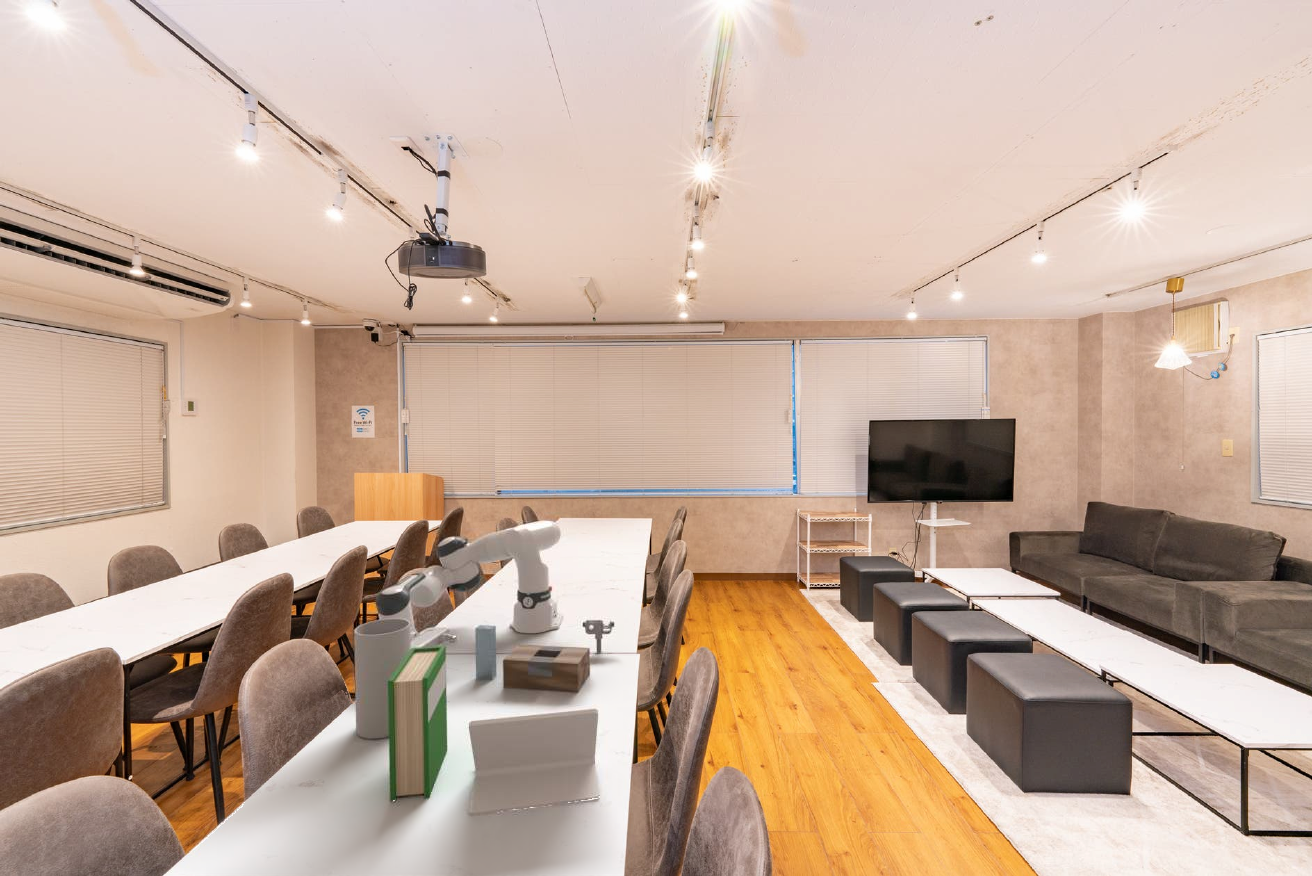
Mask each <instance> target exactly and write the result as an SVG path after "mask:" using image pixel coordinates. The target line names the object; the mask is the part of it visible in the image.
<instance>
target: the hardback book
mask: <svg viewBox="0 0 1312 876" xmlns="http://www.w3.org/2000/svg"><path fill="white" fill-rule="evenodd" d="M446 649H447V646H446V645H439V646H435V647H419V648H411V649H410V651H409V652H408V654H407V655H406V656H405V658H404V659H403V661H402V662H401V663H400V665H399V666H398V668H397V669H396V670H395V672H394V673H393V675H392V676H391V677H390V679H389V680H388V712H389V737H388V746H389V747H388V754H389V755H388V756H389V758H388V759H389V760H388V763H389V766H388V767H389V802H390V801H393V800H395V799H396V800H397V798H398V797H401V796H402V797H403V796H413V795H421V794H422V795H423V794H424V796H423V797H424V799H430V797H431V795H432V793H431V792H433V790H434V787H435V785H436V781H437V779H438V777H439V773H440V771H441V768H442V765H443V763H444V760H445V757H446V754H447V752H448V714H447V713H448V711H447V710H448V708H447V707H448V705H447V701H448V700H447V695H448V694H447V650H446ZM434 784H435V785H434ZM396 797H397V798H396Z"/></svg>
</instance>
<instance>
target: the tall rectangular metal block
mask: <svg viewBox="0 0 1312 876" xmlns="http://www.w3.org/2000/svg"><path fill="white" fill-rule="evenodd" d="M474 633H475V635H474V636H475V680H483V681H484V680H485V681H493V680H494V679H495V678H496V677H497V626H496V625H488V624H487V625H485V624H480V625H478V626H477V627H475V632H474Z"/></svg>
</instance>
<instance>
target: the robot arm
mask: <svg viewBox="0 0 1312 876" xmlns="http://www.w3.org/2000/svg"><path fill="white" fill-rule="evenodd" d="M560 539H561V528H560V526H559V525H558V524H557V522H555V521H553V520H542V519H541V520H538V521H533V522H529V523H525V524H520V525H516V526H515V527H509V528H506V529H503V530H497V531H494V532H490V533H488V534H484V535H483V536H481V537H478V538H477V539H475V540H473V542H469V541H470V540H469V539H468V538H466V537H465V538H464V537H461V536H458V535H457V536H456V535H455V536H449V537H446V538H444V539H443V540H442V541H440V542H439V543H438V544H437V546H436V547H435V551H436V556H437V558H439V561H440V564H441V565H442V566H441V565H437V564H436V565H431V566H428V567H427V568H426V569H424V570H422V572H415V573H411V574H409V575H406V576H405V577H404V578H402V579H401V580H400V581H398V582H397V583H396V582H395V584H393V585H391V586H389V587H387V588H384V589H383V590H382V591H381V592H379V594H378V595H377V597H375V601H374V603H375V608H376V612H377V614H378V618H379V619H378V620H382V619H393V618H398V619H406V620H408V621H410V632H411V648H419V647H435V646H441V645H442V644H444V643H445V642H448V643H449V644H454V643H456V642H457V641H458V639H457V638H458V637H457V636H456V635H452V634H450V629H449V628H448V627H445V626H444V627H439V626H437V627H427V628H425V629H423V630H421V631H420V632H418V631H417V629H416V628H415V622H414V617H413V611H412V604H413V605H414V606H415V607H416V606H417V607H420V608H426V607H427V608H428V607H430V606H433V605H434V604H436V602H437V601H438V600H439V599H440V598H441V596H442V595H443V593H444V591H445V590H446V589H447V588H449V590H450V591H456V592H459V593H466V592H469V591H472V590H474V589H475V588H476V587H477V586H479V585H480V584H481V582H482V580H483V579H482V578H483V577H482V573H481V570H479V568H478V567H479V566H478V564H477V563H480V564H481V563H483V564H487V563H490V564H491V563H495V562H500V561H504V560H507V559H509V560H510V559H513V560H514V562H515V566H516V568H517V579H518V580H517V581H518V582H517V583H518V589H517V593H516V597H517V602H516V603H515V604H514V606H513V619H512V620H513V621H512V622H511V623H509V627H510V628H512V629H514V631H515V632H518V633H520V634H538V633H543V632H544V633H545V632H547V631H551V630H558V629H560V626H561V623H562V621H563V619H564V614H563V613H562V612H561V613H560V612H558V604H557V602H556V601H555V600H554V599H553V598H552V595H551V594H552V593H551V592H552V590H553V586H552V585H550V576H549V567H548V566H547V564H545V562H543V561H542V559H541V555H540V553H541V552H542V551H544V550H549V549H550V548H552V547H553V546H555V545H556V544H557V543H559V541H560ZM353 645H354V647H355V640H354V639H353Z"/></svg>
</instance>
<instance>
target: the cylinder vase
mask: <svg viewBox="0 0 1312 876" xmlns="http://www.w3.org/2000/svg"><path fill="white" fill-rule="evenodd" d="M353 631H354V632H353V633H354V638H353V641H354V640H355V646H354V679H355V680H354V683H355V685H354V686H355V690H354V691H355V695H354V696H355V731H356V734H357V735H358V736H359V737H361V738H363V739H366V740H380V739H385V738H389V712H388V680H389V679H390V677H391V676H392V675H393V673H394V672H395V670H396V669H397V668H398V666H399V665H400V663H401V662H402V661H403V659H404V658H405V656H406V655H407V654H408V652H409V651H410V649H411V632H410V621H408V620H406V619H398V618H393V619H382V620H379V619H377V620H376V619H375V620H373V621H368V622H365V623H363V624H360V625H357V627H356V628H354V630H353Z"/></svg>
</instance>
